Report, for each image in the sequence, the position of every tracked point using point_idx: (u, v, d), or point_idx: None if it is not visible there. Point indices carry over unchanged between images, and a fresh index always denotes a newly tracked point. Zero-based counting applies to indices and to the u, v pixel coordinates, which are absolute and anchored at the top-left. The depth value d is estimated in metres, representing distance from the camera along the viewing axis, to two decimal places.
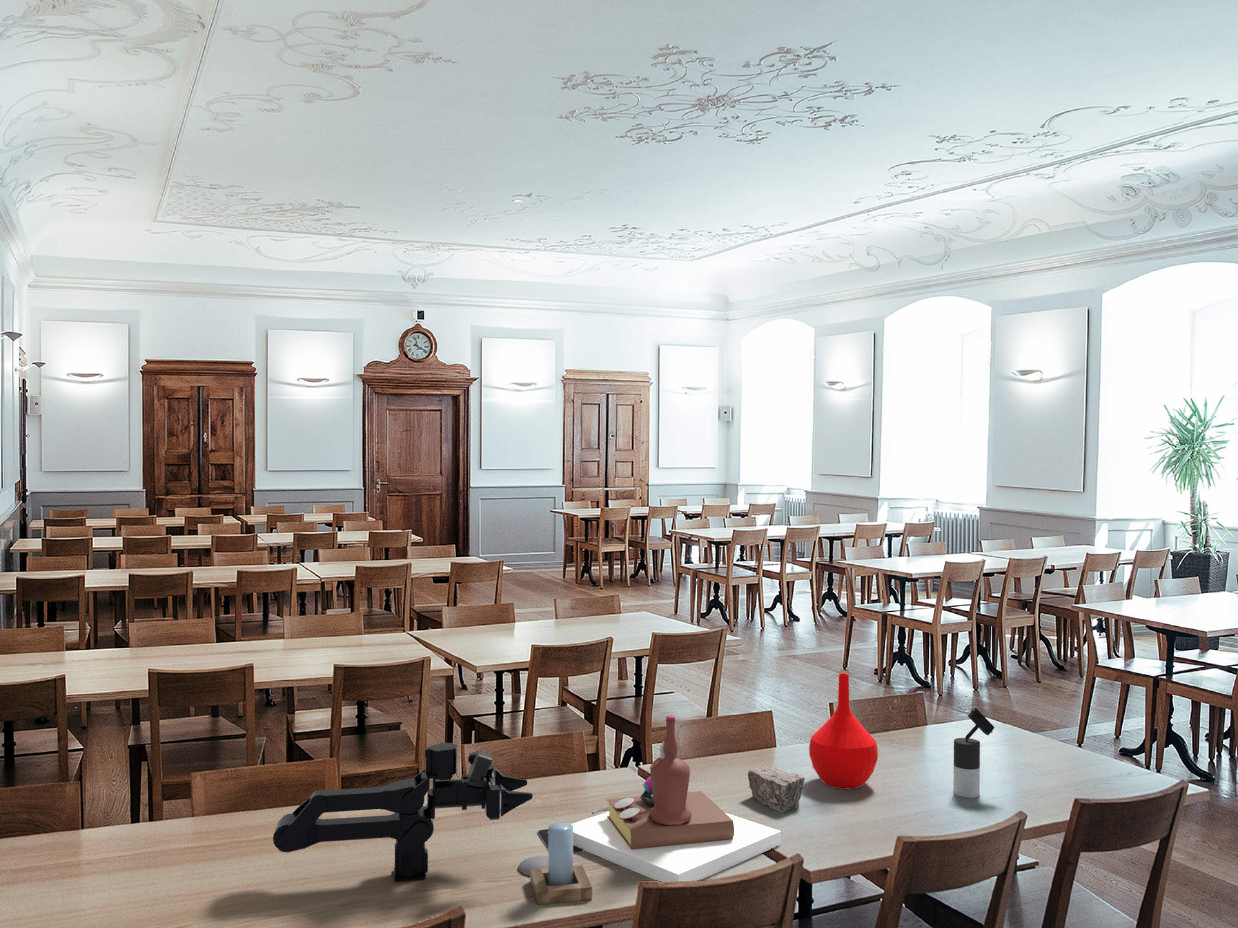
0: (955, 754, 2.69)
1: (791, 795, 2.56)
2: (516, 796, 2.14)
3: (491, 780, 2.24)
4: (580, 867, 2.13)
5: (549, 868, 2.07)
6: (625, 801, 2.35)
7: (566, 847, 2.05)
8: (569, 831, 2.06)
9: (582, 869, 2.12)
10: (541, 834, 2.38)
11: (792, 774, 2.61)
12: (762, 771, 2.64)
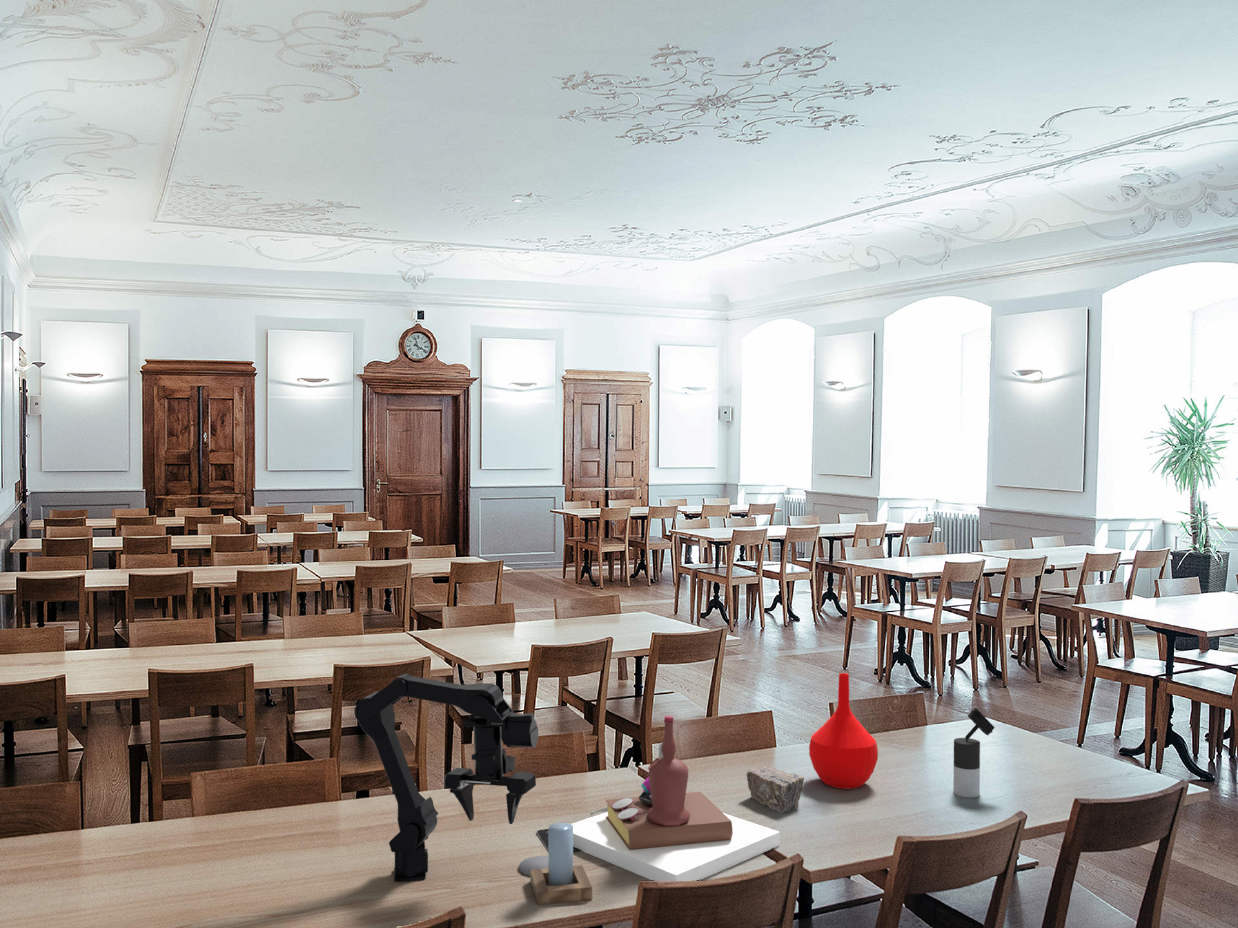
0: (955, 754, 2.69)
1: (791, 795, 2.55)
2: (516, 806, 2.10)
3: None
4: (580, 867, 2.13)
5: (549, 868, 2.07)
6: (624, 801, 2.35)
7: (566, 847, 2.05)
8: (569, 831, 2.06)
9: (582, 869, 2.12)
10: (540, 834, 2.38)
11: (791, 774, 2.61)
12: (761, 771, 2.63)
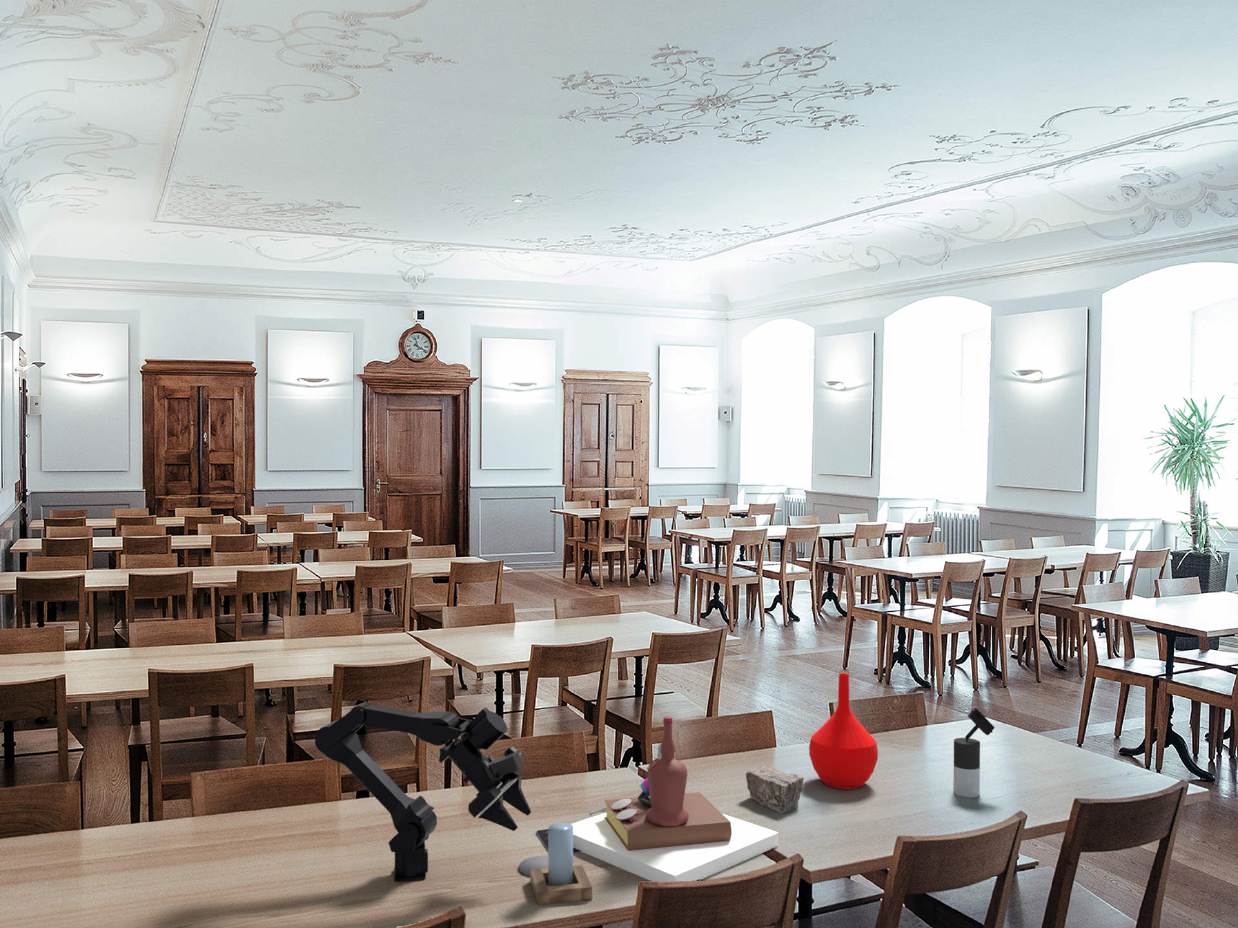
0: (955, 754, 2.69)
1: (791, 796, 2.55)
2: (503, 816, 2.04)
3: (508, 782, 2.16)
4: (580, 867, 2.13)
5: (549, 868, 2.07)
6: (623, 802, 2.35)
7: (566, 847, 2.05)
8: (569, 831, 2.06)
9: (582, 869, 2.12)
10: (540, 834, 2.38)
11: (791, 774, 2.60)
12: (760, 772, 2.63)
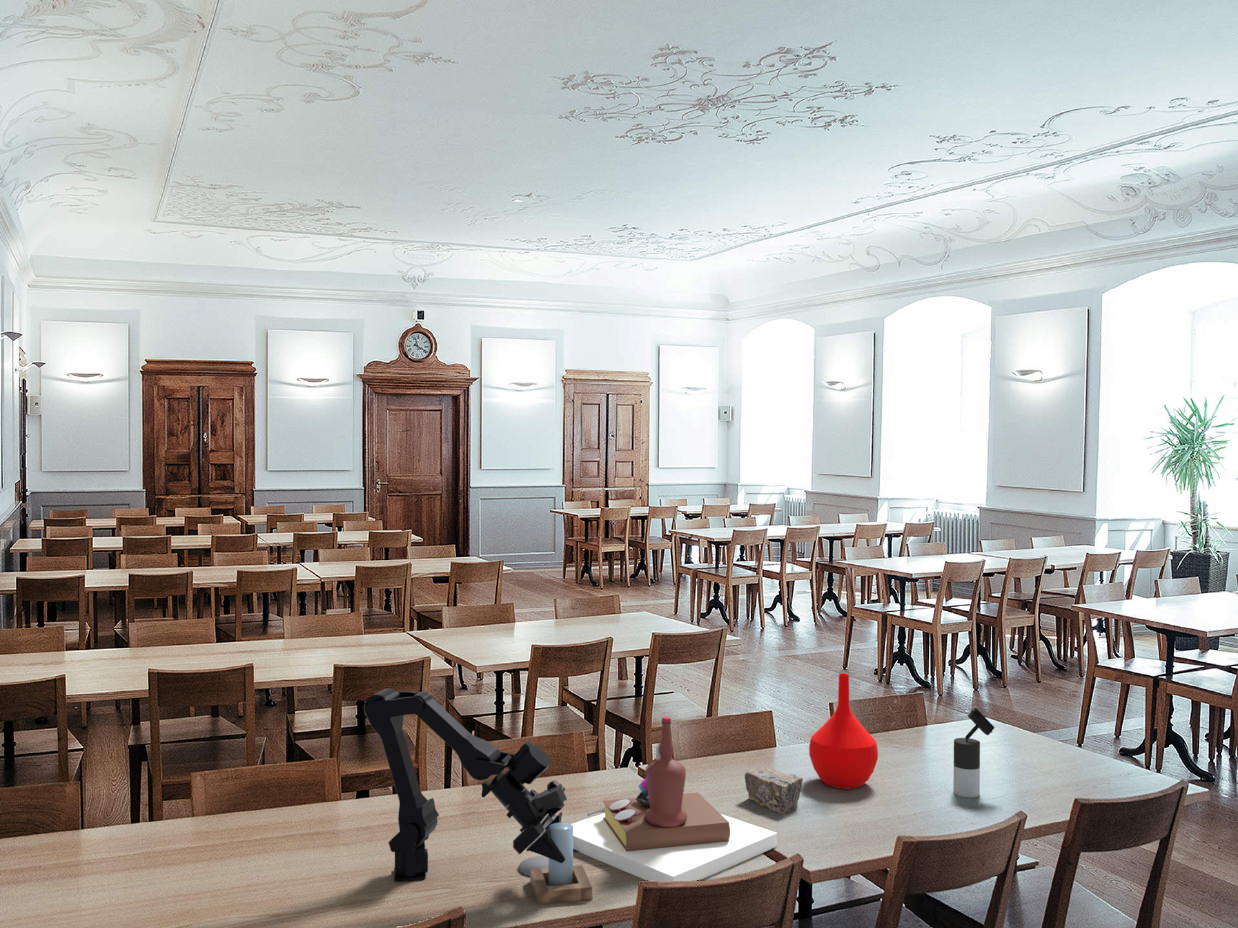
0: (955, 754, 2.69)
1: (791, 796, 2.55)
2: (551, 848, 2.04)
3: (548, 819, 2.12)
4: (580, 867, 2.13)
5: (549, 868, 2.07)
6: (621, 803, 2.34)
7: (566, 847, 2.05)
8: (569, 831, 2.06)
9: (582, 869, 2.12)
10: None
11: (790, 775, 2.60)
12: (759, 772, 2.62)
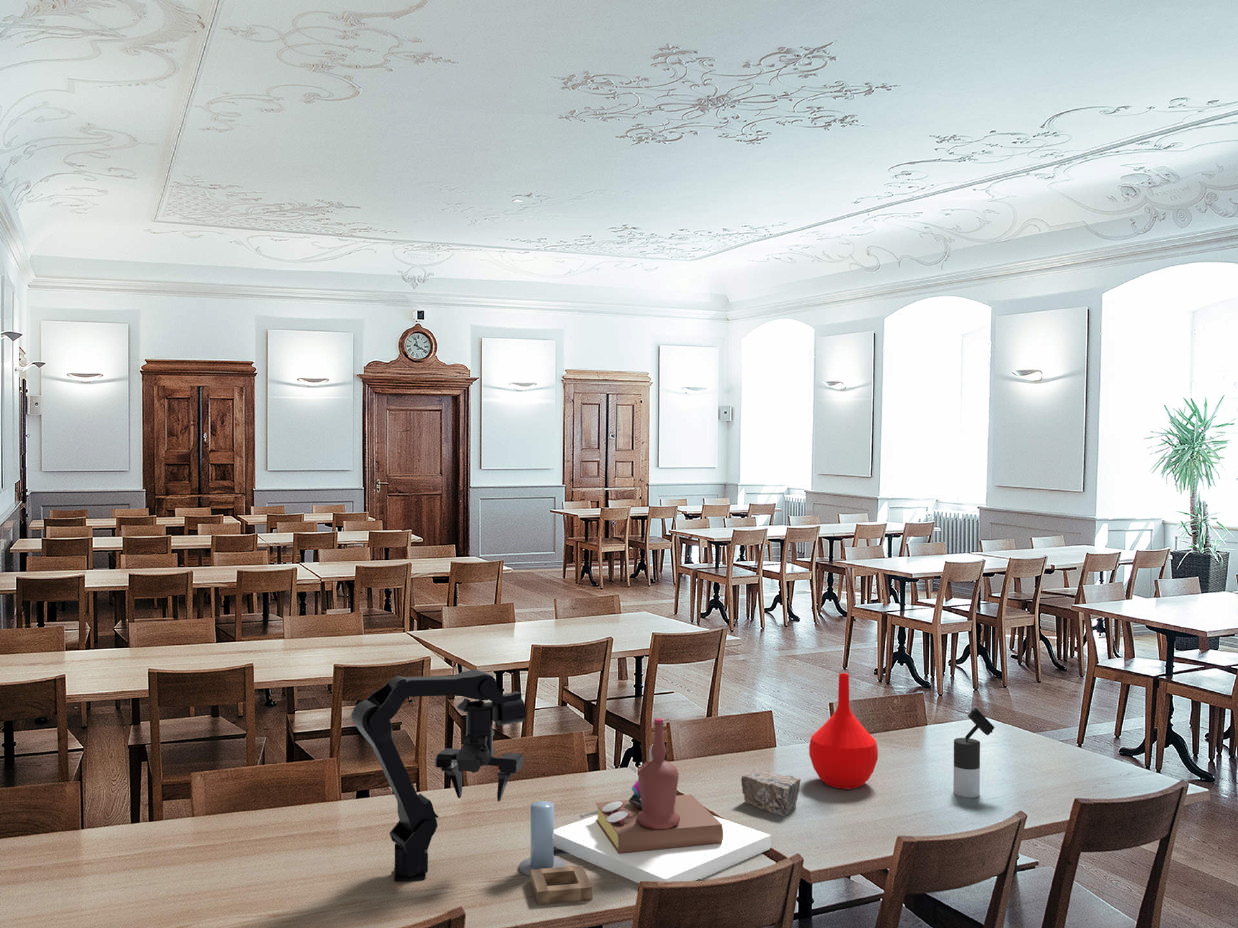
0: (955, 754, 2.69)
1: (791, 798, 2.54)
2: None
3: None
4: (580, 867, 2.13)
5: (531, 844, 2.18)
6: (613, 805, 2.33)
7: (547, 824, 2.17)
8: (550, 809, 2.17)
9: (582, 869, 2.12)
10: None
11: (787, 776, 2.59)
12: (756, 775, 2.60)
